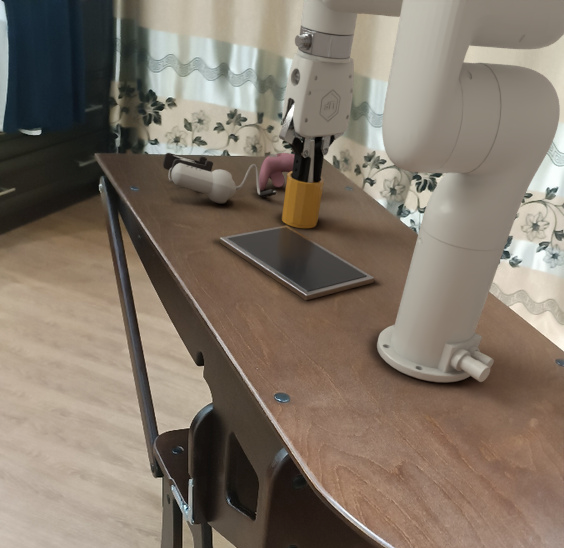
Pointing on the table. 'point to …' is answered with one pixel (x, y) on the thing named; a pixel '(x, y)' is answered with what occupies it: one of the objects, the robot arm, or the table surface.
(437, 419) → the table surface
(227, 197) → the clip-on lamp
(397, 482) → the table surface
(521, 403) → the table surface
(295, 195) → the pen cup
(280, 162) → the video game controller
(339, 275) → the tablet
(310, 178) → the stylus
